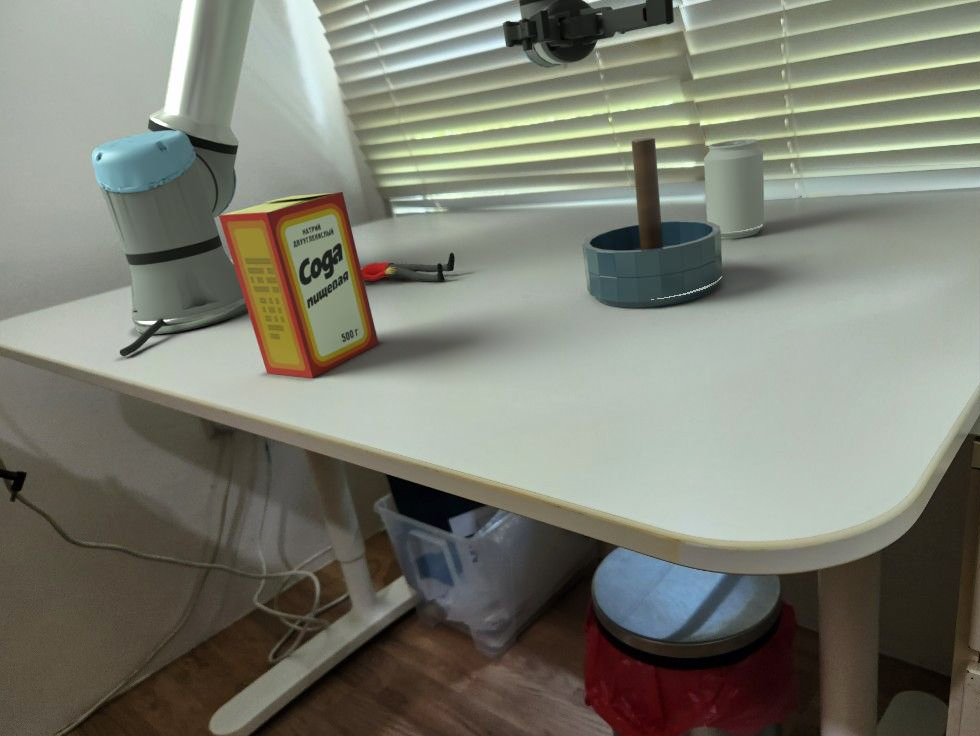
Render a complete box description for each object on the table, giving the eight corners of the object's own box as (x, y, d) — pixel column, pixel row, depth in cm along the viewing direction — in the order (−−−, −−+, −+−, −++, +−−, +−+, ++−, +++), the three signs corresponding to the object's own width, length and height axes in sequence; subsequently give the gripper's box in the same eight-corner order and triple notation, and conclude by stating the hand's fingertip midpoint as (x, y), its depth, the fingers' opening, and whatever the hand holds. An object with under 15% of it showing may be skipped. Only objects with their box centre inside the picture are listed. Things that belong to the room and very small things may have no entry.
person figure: (434, 250, 98) (329, 254, 106) (435, 280, 98) (330, 282, 106) (456, 253, 102) (353, 256, 110) (456, 282, 103) (354, 283, 111)
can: (700, 233, 105) (695, 144, 100) (752, 224, 105) (750, 135, 101) (718, 243, 98) (713, 147, 94) (773, 233, 99) (771, 138, 94)
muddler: (677, 286, 80) (667, 138, 74) (630, 290, 81) (616, 145, 75) (677, 274, 84) (668, 133, 78) (633, 278, 85) (620, 140, 79)
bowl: (725, 303, 75) (722, 243, 72) (581, 314, 78) (574, 258, 75) (720, 266, 88) (717, 214, 85) (596, 277, 91) (591, 228, 88)
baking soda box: (312, 378, 71) (265, 208, 65) (267, 373, 75) (217, 211, 68) (378, 343, 79) (341, 187, 72) (334, 340, 82) (295, 191, 75)
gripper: (657, 49, 102) (720, 37, 82) (477, 77, 99) (498, 71, 80) (653, -13, 99) (717, -40, 79) (467, 13, 96) (486, -9, 77)
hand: (607, 15), depth 80 cm, fingers open, 13 cm apart
